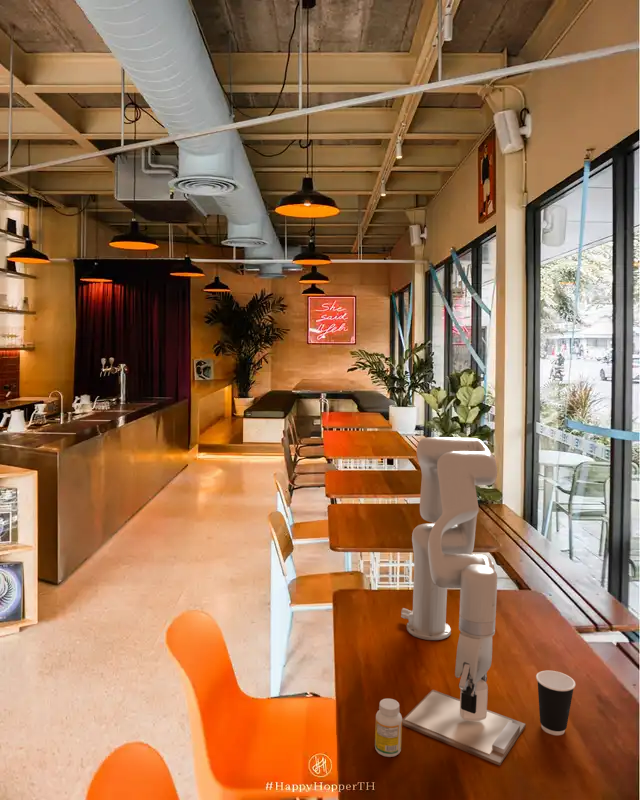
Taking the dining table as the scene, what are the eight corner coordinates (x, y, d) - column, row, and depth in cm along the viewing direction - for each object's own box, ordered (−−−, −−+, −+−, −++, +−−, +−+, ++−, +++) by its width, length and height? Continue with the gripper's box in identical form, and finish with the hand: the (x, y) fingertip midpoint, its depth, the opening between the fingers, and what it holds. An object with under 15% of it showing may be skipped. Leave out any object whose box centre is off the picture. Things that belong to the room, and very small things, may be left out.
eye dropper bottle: (485, 725, 130) (487, 671, 129) (458, 719, 132) (460, 665, 131) (487, 714, 134) (489, 661, 133) (461, 708, 136) (463, 656, 135)
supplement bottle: (391, 761, 121) (393, 714, 120) (369, 749, 124) (370, 704, 124) (406, 748, 125) (407, 703, 124) (384, 737, 128) (385, 693, 128)
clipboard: (400, 724, 133) (400, 717, 133) (432, 691, 146) (432, 685, 146) (499, 765, 120) (500, 757, 120) (525, 726, 133) (525, 719, 133)
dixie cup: (580, 737, 130) (583, 687, 129) (547, 742, 128) (550, 691, 127) (558, 715, 138) (560, 668, 137) (526, 719, 136) (528, 672, 135)
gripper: (474, 606, 141) (471, 682, 142) (444, 633, 127) (440, 717, 128) (507, 614, 136) (503, 693, 138) (479, 644, 122) (475, 730, 124)
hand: (473, 703), depth 133 cm, fingers closed on eye dropper bottle, 4 cm apart
